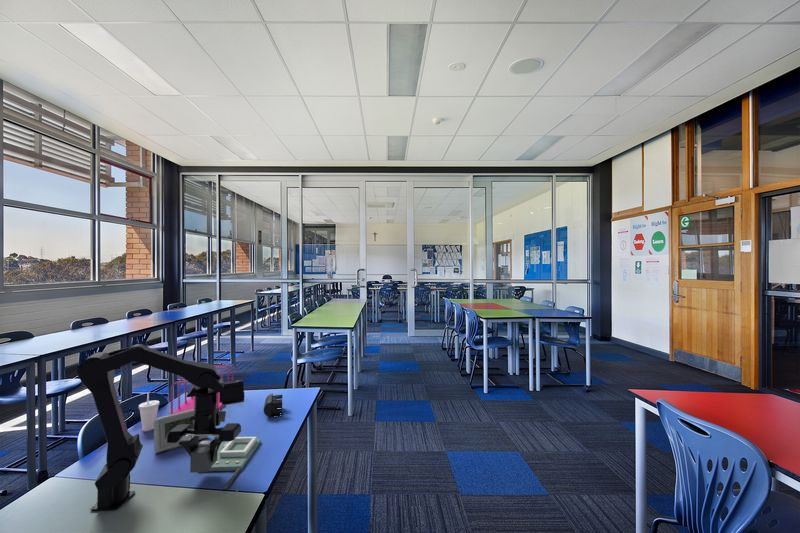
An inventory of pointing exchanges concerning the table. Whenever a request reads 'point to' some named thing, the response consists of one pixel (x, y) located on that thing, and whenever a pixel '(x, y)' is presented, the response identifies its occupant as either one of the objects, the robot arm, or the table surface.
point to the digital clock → (166, 425)
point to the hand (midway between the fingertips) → (204, 461)
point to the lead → (232, 478)
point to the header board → (235, 453)
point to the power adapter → (273, 405)
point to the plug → (201, 458)
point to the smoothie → (148, 413)
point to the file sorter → (190, 402)
